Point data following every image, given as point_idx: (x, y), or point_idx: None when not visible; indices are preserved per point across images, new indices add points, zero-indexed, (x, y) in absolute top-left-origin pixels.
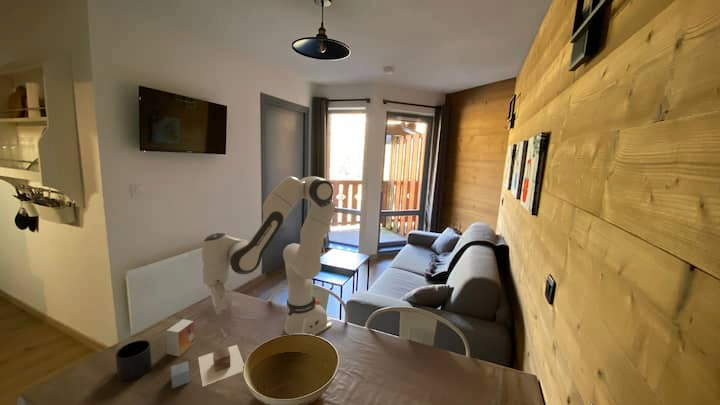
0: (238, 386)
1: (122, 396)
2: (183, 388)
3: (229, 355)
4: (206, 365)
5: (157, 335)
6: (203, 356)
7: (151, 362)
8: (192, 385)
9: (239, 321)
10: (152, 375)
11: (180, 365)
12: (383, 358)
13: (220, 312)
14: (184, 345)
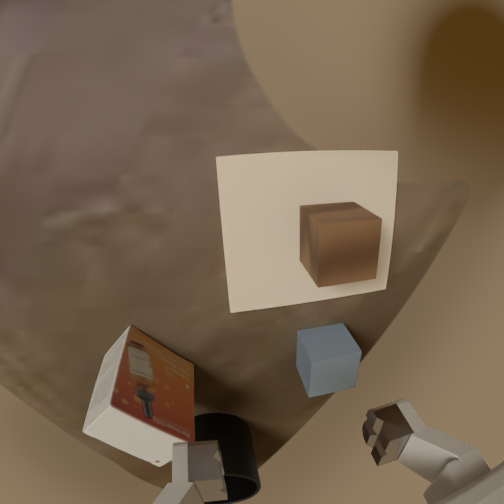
0: (439, 189)
1: (293, 431)
2: (354, 333)
3: (381, 221)
4: (295, 283)
5: (60, 408)
6: (235, 296)
7: (210, 422)
8: (358, 314)
9: (19, 137)
10: (251, 405)
11: (320, 377)
12: None
13: (407, 409)
14: (172, 371)
